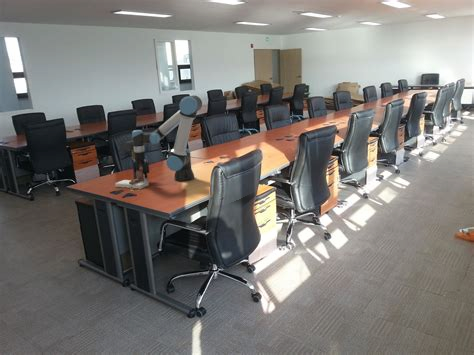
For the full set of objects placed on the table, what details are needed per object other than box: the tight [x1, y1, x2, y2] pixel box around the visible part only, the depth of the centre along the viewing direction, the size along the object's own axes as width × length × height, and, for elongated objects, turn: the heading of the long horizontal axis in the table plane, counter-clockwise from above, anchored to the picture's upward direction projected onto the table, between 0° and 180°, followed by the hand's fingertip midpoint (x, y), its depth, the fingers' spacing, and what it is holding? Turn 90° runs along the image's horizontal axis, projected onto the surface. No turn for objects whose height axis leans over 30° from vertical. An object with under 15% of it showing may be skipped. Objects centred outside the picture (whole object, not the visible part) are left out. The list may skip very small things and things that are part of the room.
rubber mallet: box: [123, 139, 137, 180], centre depth 308 cm, size 12×8×30 cm, turn 153°
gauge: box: [129, 168, 149, 184], centre depth 291 cm, size 17×5×10 cm, turn 158°
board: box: [114, 179, 149, 190], centre depth 291 cm, size 10×22×3 cm, turn 67°
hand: (142, 181), depth 297 cm, fingers closed on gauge, 5 cm apart
